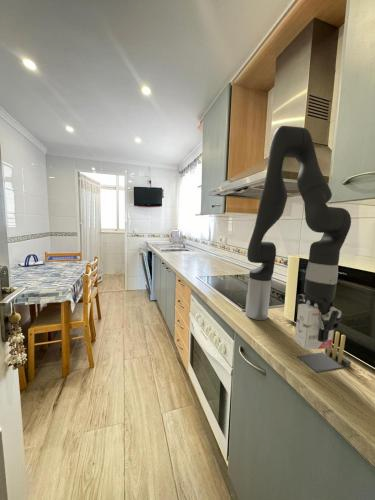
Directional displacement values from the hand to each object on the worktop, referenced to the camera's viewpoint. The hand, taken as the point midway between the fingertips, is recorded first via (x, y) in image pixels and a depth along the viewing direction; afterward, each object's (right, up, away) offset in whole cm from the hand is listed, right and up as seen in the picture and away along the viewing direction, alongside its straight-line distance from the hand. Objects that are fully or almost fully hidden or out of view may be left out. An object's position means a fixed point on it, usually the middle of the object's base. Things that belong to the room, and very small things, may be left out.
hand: (313, 335), depth 61 cm
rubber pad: (+3, -9, +2) cm, 10 cm away
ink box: (0, -3, 0) cm, 3 cm away
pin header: (+10, -9, +4) cm, 14 cm away
